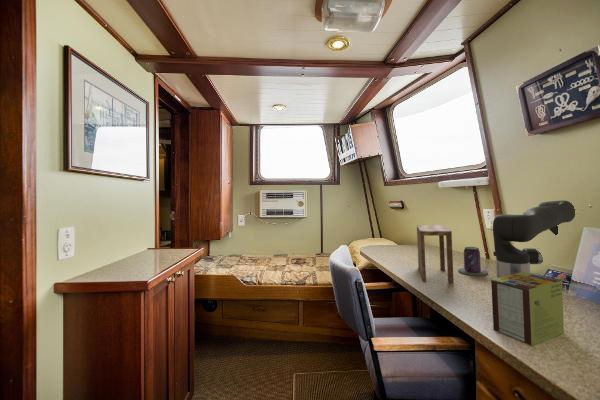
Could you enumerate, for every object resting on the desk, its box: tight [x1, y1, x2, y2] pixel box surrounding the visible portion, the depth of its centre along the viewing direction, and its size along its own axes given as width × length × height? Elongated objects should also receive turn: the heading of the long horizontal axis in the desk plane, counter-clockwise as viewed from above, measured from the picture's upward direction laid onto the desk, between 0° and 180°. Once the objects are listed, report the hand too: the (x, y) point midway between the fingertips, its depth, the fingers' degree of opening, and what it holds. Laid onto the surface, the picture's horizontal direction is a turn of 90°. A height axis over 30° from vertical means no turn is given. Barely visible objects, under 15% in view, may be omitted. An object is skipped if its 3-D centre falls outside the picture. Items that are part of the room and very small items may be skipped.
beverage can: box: [463, 246, 482, 272], centre depth 141 cm, size 7×7×12 cm
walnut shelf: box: [416, 224, 455, 285], centre depth 140 cm, size 13×25×24 cm, turn 161°
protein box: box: [490, 272, 565, 347], centre depth 81 cm, size 10×15×16 cm
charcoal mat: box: [457, 267, 489, 277], centre depth 141 cm, size 13×13×1 cm
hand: (496, 255), depth 138 cm, fingers open, 8 cm apart
